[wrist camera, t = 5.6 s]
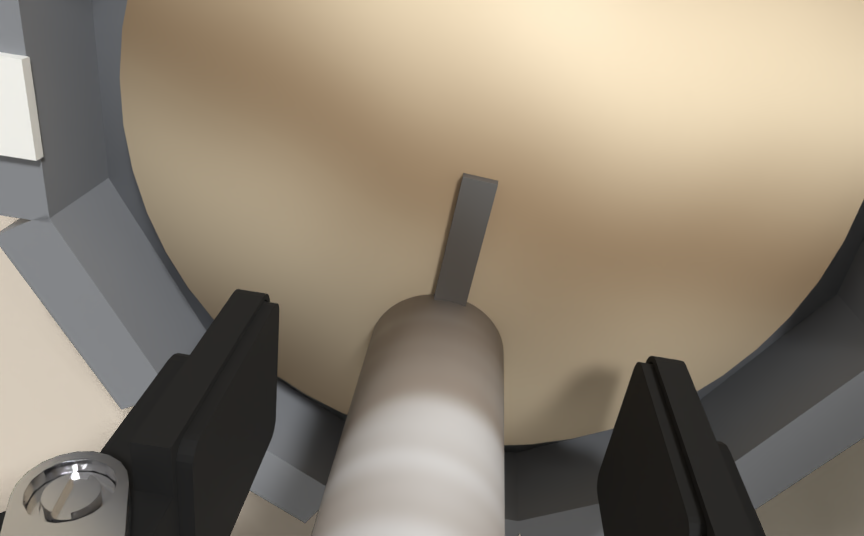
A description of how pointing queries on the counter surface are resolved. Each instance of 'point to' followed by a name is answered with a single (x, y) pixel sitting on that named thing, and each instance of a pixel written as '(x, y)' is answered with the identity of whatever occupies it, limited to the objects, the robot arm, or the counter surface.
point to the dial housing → (295, 411)
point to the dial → (493, 208)
